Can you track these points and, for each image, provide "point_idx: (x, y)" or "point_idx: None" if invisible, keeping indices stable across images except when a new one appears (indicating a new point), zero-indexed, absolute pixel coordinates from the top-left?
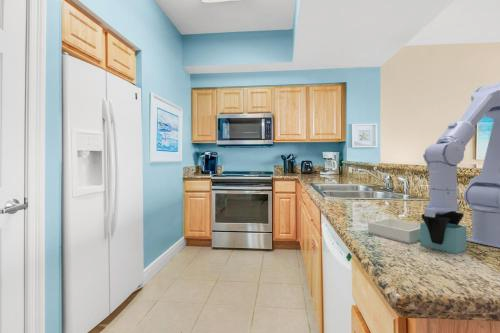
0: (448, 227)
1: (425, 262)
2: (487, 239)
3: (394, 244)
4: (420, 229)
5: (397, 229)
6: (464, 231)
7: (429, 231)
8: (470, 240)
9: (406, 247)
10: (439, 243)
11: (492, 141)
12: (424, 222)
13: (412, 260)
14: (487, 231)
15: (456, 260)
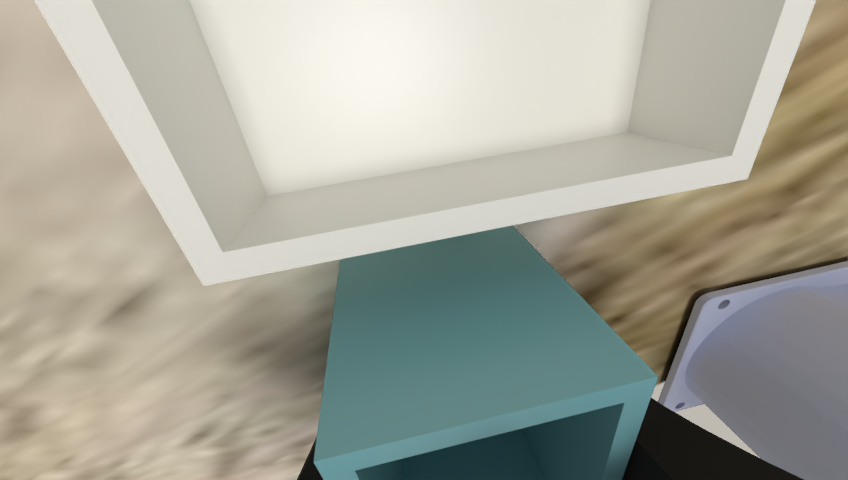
0: (570, 457)
1: (84, 455)
2: (705, 390)
3: (84, 158)
4: (326, 366)
5: (104, 99)
6: None
7: (306, 464)
8: (695, 321)
9: (160, 260)
10: None
11: None
12: (408, 451)
13: (7, 432)
14: (756, 437)
15: (296, 453)
